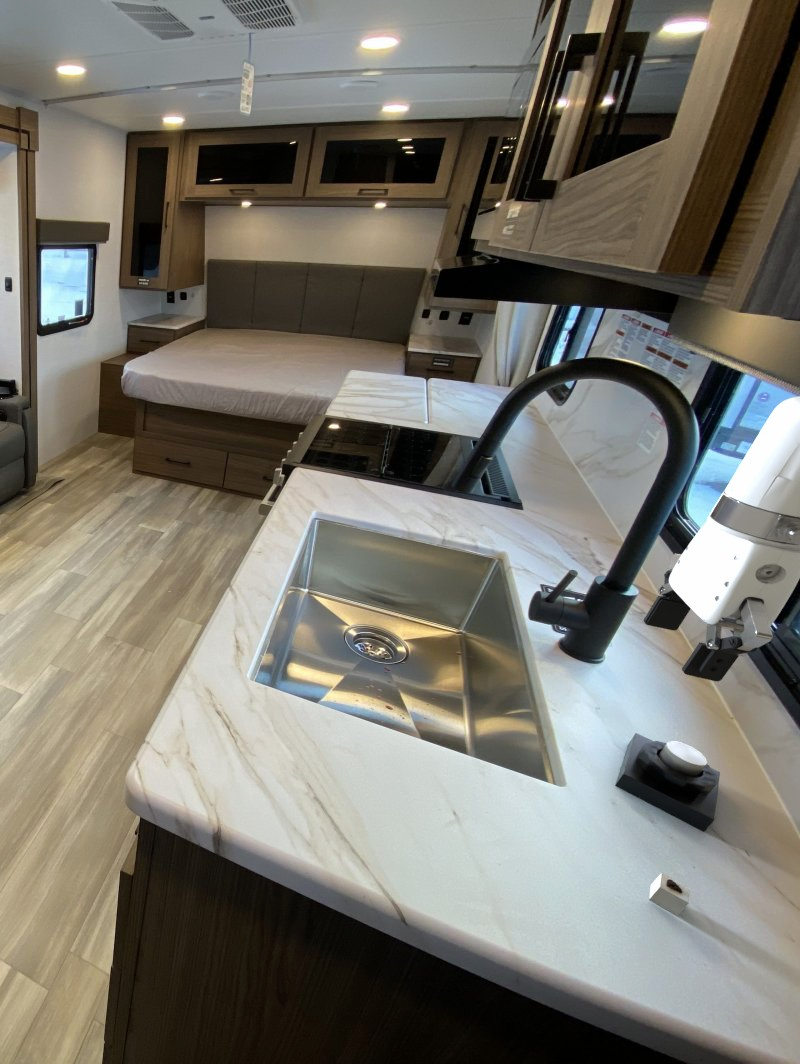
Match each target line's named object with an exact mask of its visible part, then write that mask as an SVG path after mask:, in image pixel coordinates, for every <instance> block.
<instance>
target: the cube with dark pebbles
mask: <svg viewBox="0 0 800 1064" xmlns="http://www.w3.org/2000/svg"><path fill="white" fill-rule="evenodd" d="M690 894H691V887H689V886H687V885H685V884H683V883H681V882H679V881H678V880H675V879H674V878H672V877H670V876H668V875H667V874H665V873H663V872H661V873H660V874H659V875H658V876H657V877H656V878H655V879H654V881H653V882H652V883H651V884H650V889H649V897H648V900H649V901H650V902H652V903H654V904H656V905H657V906H659V907H661V908H662V909H665V910H666V911H668V912H670V913H671V914H673V915H675V916H677V917H678V916H679V915H680V914H681V913H682V912H683V911H684V910H685V908H686V907H687V906H688V905H689V904H690Z"/></svg>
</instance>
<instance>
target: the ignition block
mask: <svg viewBox="0 0 800 1064" xmlns="http://www.w3.org/2000/svg"><path fill="white" fill-rule="evenodd" d="M667 743H668V742H664V741H659V740H653V739H650V738H648V737H645V736H644V735H642V734H639V733H637V732H636V733H634V735H633V736H632V738H631V739H630V741H629V742H628V743H627V747H626V750H625V753H624V756H623V759H622V762H621V765H620V769H619V772H618V775H617V778H616V781H615V785H614V786H615V787H616V788H619V789H620V790H622V791H624V792H626V793H628V794H630V795H631V796H633V797H636V798H637V799H640V800H641V801H643V802H645V803H647V804H649V805H651V806H652V807H655V808H656V809H658V810H661V811H662V812H665V813H666V814H668V815H670V816H672V817H674V818H676V819H678V820H680V821H681V822H683V823H686V824H687V825H689V826H691V827H693V828H695V829H697V830H699V831H700V832H703V833H705V832H706V831H707V829H709V827H710V826H711V825H712V824H713V823H714V821H715V819H716V809H717V803H718V801H717V799H718V794H719V793H718V791H719V785H720V784H719V783H720V775H721V772H720V771H719V770H716V769H714V768H712V767H711V766H710V765H709V764H707V765H706V766H705V768H704V769H703V770H702V771H701V773H700V774H699V775H698V776H697V777H690V776H686V775H683V774H681V773H679V772H677V771H675V770H673V769H671V768H669V767H668V766H667V765H665V764H664V763H663V762H661V760H660V759H659V754H660V752H661V751H662V750H663V748H664V747H665V745H666V744H667Z"/></svg>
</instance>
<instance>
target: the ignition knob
mask: <svg viewBox="0 0 800 1064" xmlns="http://www.w3.org/2000/svg"><path fill="white" fill-rule="evenodd" d="M666 743H667V744H666V745H665V747H664V748H663V750H662V751H661V752H660V754H659V759H660V760H661V762H663V763H664V764H665V765H667V766H668V767H669V768H671V769H673V770H675V771H677V772H679V773H681V774H683V775H686V776H690V777H697V776H698V775H699V774H700V773H701V771H702V770H703V769H704V768H705V766H706V765H707V764H708V762H709V761H708V759H707V757H706V756H705V755H704V754H703V753H702V752H700V751H699V749H696V748H695V747H693V746H690V745H689V744H687V743H684V742H680V741H675V740H670V741H668V742H666ZM708 765H709V764H708Z"/></svg>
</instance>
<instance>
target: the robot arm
mask: <svg viewBox="0 0 800 1064" xmlns="http://www.w3.org/2000/svg"><path fill="white" fill-rule="evenodd" d="M663 576H664V580H663V581H664V582H663V583H664V584H663V585H660V586H659V588H658V595H657V597H656V598H655V600H654V601H653V604H652V605H651V607H650V609H649V610H648V611H647V613H646V615H645V617H644V619H643V621H642V622H644V624H645V625H646V626H650V627H655V628H659V629H663V630H670V631H677V630H679V628H680V626H681V624H682V623H683V622H684V620H685V619H686V617H687V615H688V614H689V612H690V611H691V610H692V611H693V613H695V615H696V616H698V617H699V618H700V619H701V620H702V621H703V622H705V623H706V638H705V642H699V643H698V644H697V646H696V647H695V648H694V650H693V651H692V653H691V655H690V656H689V657H688V658H687V660H686V662H684V665H683V666H682V668H681V671H682V672H683V674H684V675H686V676H690V677H695V678H700V679H705V680H708V681H712V682H720V681H722V680H723V679H724V677H725V676H726V674H727V673H728V672H729V670H730V669H731V668H732V667H733V665H734V664H735V662H736V661H737V660H738V659H739V657H746V656H747V654H749V653H750V654H751V653H754V652H756V651H757V650H758V648H761V647H762V646H764V645H766V644H768V643H769V642H771V641H772V640H773V638H774V637H773V632H772V629H771V626H773V624H774V622H775V621H776V619H777V618H778V616H779V614H781V611H782V609H784V607H785V605H786V603H787V602H788V600H789V598H790V597H791V596H792V594H793V592H794V590H795V588H796V587H797V585H798V582H799V581H800V396H793V397H789V398H787V399H785V400H782V401H781V402H780V403H779V404H777V406H776V407H775V408H773V411H772V412H771V414H769V417H768V418H767V419H766V421H765V423H764V424H763V426H762V428H761V429H760V431H759V433H758V435H757V436H756V437H755V439H754V441H753V442H752V445H751V446H750V448H748V451H747V452H746V454H745V456H744V457H743V459H742V460H741V462H740V464H739V465H738V467H737V469H736V471H735V473H734V474H733V476H732V478H731V479H730V480H729V482H728V484H727V486H726V487H725V489H724V490H723V492H722V493H721V494H720V497H719V499H718V500H717V502H716V503H715V505H714V506H713V508H712V509H711V512H709V515H708V516H707V518H706V521H705V523H704V524H703V525H702V526H701V528H700V529H699V530H698V532H697V533H696V534H695V536H693V538H692V540H690V542H689V543H688V545H687V546H686V548H685V549H684V550H683V552H682V553H673V554H672V555H671V557H670V562H669V565H668V570H667V571H666V572H665V573H664V575H663ZM722 618H723V619H730V620H735V622H732V621H728V620H722ZM723 630H727V631H728V630H729V631H733V635H732V636H727V637H726V636H725V637H722V631H723Z"/></svg>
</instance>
